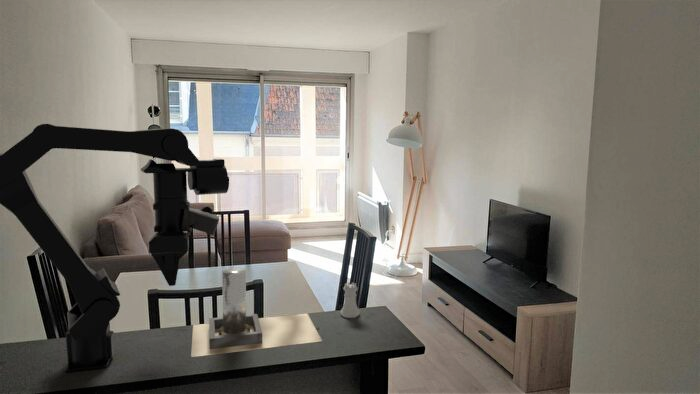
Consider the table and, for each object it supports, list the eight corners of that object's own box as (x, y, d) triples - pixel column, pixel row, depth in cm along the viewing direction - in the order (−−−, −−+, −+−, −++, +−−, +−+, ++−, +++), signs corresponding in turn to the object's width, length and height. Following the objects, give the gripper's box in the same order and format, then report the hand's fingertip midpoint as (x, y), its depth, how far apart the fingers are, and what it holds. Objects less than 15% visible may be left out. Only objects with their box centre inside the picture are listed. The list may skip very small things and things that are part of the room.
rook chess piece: (351, 324, 98) (352, 289, 97) (335, 319, 101) (336, 284, 100) (363, 318, 102) (364, 283, 100) (348, 313, 104) (348, 279, 103)
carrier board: (191, 362, 81) (190, 346, 81) (193, 329, 94) (192, 315, 94) (322, 346, 88) (322, 331, 88) (307, 317, 101) (307, 304, 101)
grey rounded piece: (219, 343, 86) (218, 277, 84) (218, 330, 92) (217, 267, 90) (251, 339, 88) (251, 275, 86) (248, 326, 94) (248, 265, 92)
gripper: (217, 203, 78) (219, 290, 80) (215, 189, 96) (216, 261, 98) (146, 205, 75) (150, 296, 77) (157, 190, 92) (161, 265, 95)
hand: (174, 277), depth 87 cm, fingers open, 9 cm apart
